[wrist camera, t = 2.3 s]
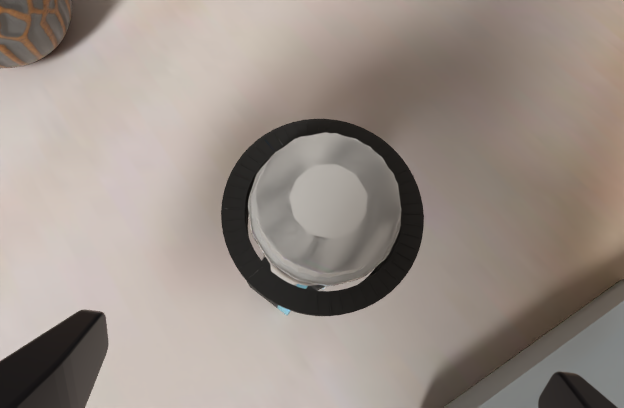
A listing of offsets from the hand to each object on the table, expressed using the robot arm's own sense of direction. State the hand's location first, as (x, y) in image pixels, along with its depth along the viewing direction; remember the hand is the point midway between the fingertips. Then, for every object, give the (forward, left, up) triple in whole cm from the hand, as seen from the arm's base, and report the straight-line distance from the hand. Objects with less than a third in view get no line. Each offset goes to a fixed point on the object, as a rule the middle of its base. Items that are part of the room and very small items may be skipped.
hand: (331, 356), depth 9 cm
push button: (+3, +3, -11) cm, 12 cm away
